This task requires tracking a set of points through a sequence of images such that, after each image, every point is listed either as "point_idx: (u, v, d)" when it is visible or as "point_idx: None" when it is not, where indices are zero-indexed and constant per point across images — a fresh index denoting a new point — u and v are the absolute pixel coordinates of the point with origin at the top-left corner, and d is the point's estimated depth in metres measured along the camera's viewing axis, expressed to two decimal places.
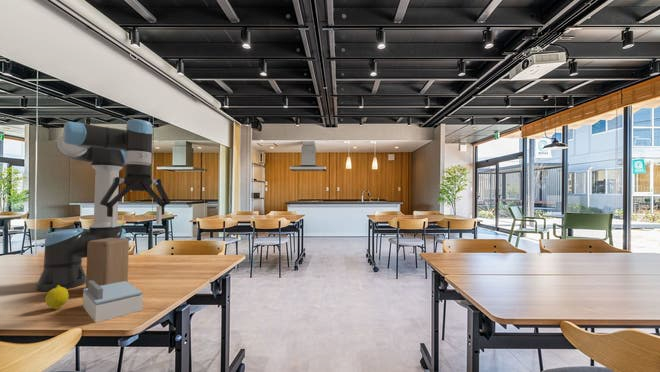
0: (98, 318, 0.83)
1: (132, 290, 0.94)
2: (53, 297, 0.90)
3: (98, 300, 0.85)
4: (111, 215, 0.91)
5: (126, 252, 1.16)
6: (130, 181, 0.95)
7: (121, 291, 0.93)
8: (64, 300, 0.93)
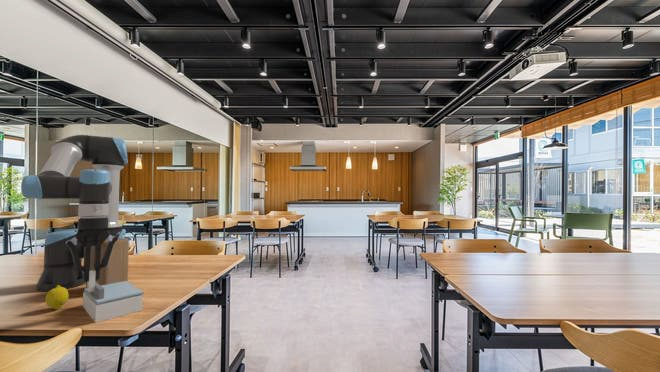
0: (98, 318, 0.83)
1: (133, 290, 0.94)
2: (53, 297, 0.90)
3: (99, 300, 0.85)
4: (87, 280, 0.88)
5: (126, 252, 1.16)
6: (83, 235, 0.88)
7: (122, 291, 0.93)
8: (64, 300, 0.93)
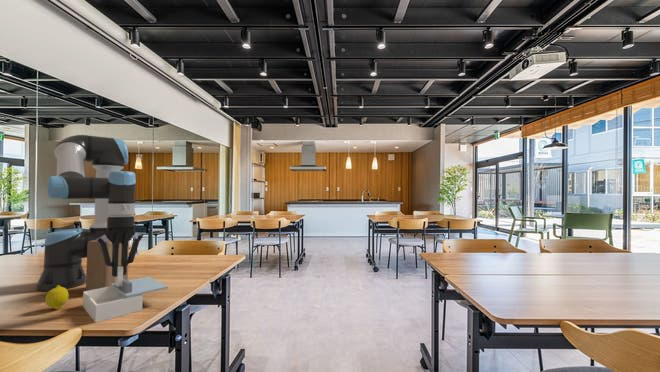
0: (98, 318, 0.83)
1: (157, 285, 1.00)
2: (53, 297, 0.90)
3: (128, 293, 0.90)
4: (116, 275, 0.94)
5: None
6: (112, 233, 0.93)
7: (147, 285, 0.99)
8: (64, 300, 0.93)
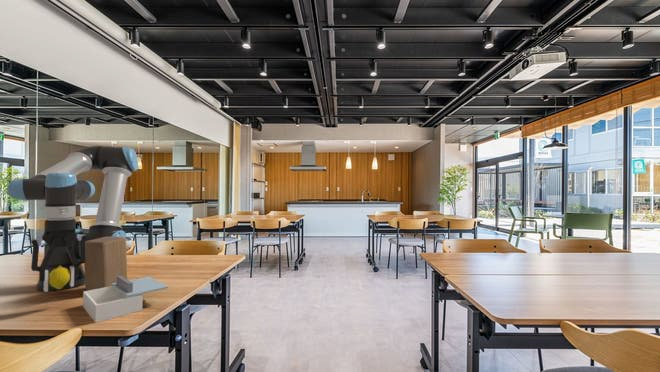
0: (98, 318, 0.83)
1: (158, 284, 1.00)
2: (55, 276, 0.91)
3: (129, 293, 0.91)
4: (43, 279, 0.90)
5: (124, 251, 1.15)
6: (50, 237, 0.91)
7: (147, 285, 0.99)
8: (66, 280, 0.93)
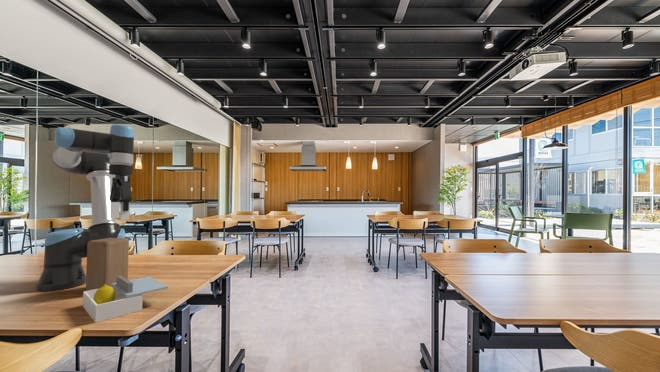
0: (98, 318, 0.83)
1: (158, 284, 1.00)
2: None
3: (129, 293, 0.91)
4: None
5: (126, 252, 1.16)
6: None
7: (147, 285, 0.99)
8: (97, 302, 0.89)
